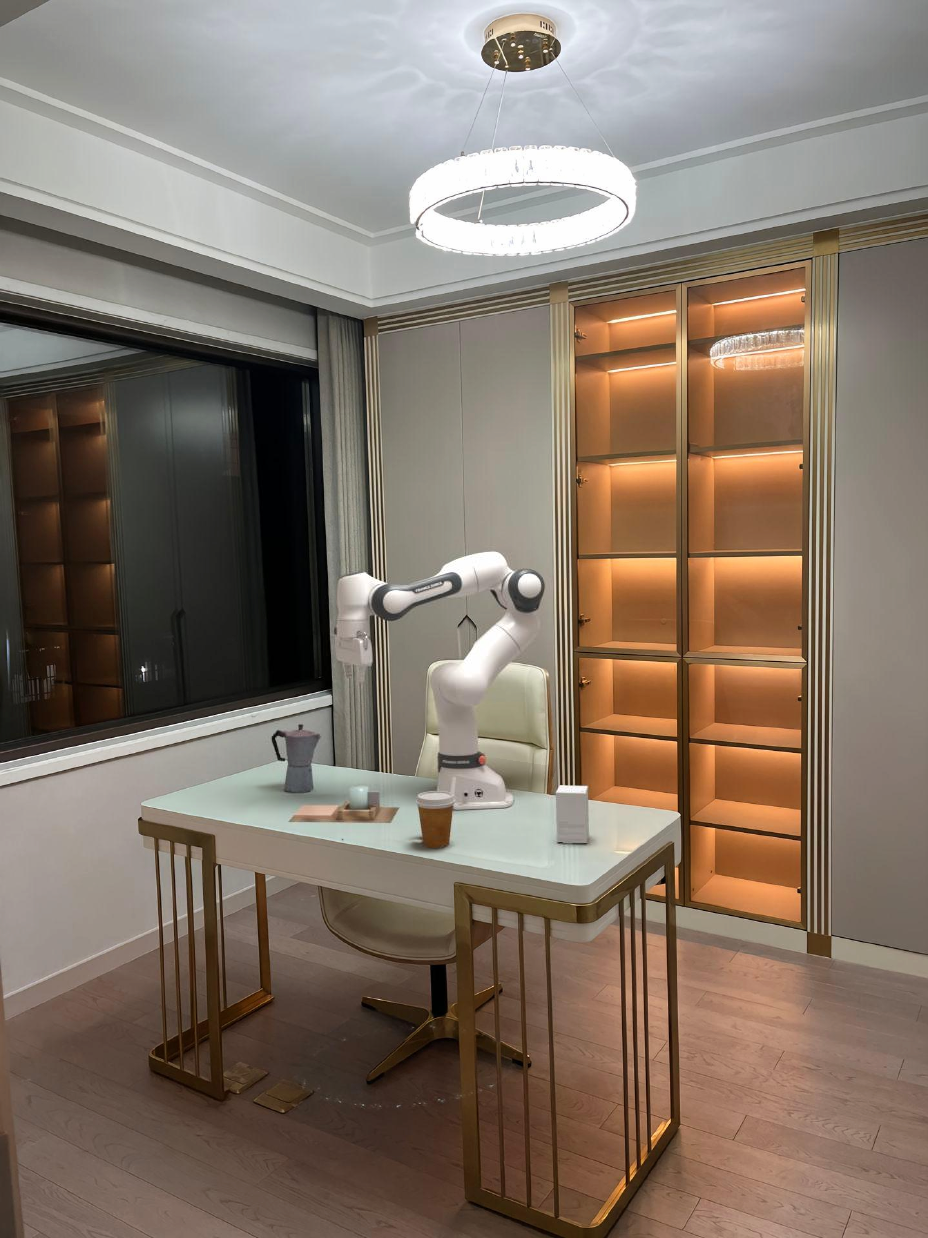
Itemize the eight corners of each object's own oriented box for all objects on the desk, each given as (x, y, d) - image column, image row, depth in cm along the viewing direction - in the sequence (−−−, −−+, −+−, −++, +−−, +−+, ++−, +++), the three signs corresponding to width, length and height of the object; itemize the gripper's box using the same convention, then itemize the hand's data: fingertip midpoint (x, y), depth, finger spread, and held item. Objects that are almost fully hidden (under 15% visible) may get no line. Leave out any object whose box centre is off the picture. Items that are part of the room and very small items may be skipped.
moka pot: (320, 793, 278) (318, 726, 277) (268, 794, 278) (266, 727, 277) (325, 786, 288) (324, 721, 286) (275, 786, 288) (273, 721, 287)
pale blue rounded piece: (381, 813, 252) (380, 785, 251) (378, 818, 247) (377, 790, 246) (351, 813, 253) (351, 785, 252) (348, 818, 248) (347, 790, 247)
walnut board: (399, 811, 258) (399, 798, 257) (390, 826, 243) (390, 813, 242) (303, 810, 260) (302, 797, 260) (288, 825, 245) (287, 812, 245)
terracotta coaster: (339, 808, 258) (339, 805, 257) (330, 818, 248) (330, 815, 248) (303, 808, 258) (303, 805, 258) (293, 818, 248) (293, 815, 248)
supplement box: (589, 836, 232) (589, 785, 231) (586, 845, 225) (586, 793, 224) (559, 834, 234) (559, 784, 233) (555, 843, 227) (555, 791, 226)
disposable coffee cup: (459, 839, 231) (458, 791, 230) (452, 851, 222) (451, 801, 221) (421, 837, 233) (420, 790, 232) (412, 849, 223) (411, 799, 223)
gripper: (377, 632, 252) (378, 683, 253) (351, 627, 270) (352, 675, 271) (355, 633, 249) (356, 685, 250) (330, 628, 268) (331, 676, 269)
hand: (354, 680), depth 261 cm, fingers open, 8 cm apart
